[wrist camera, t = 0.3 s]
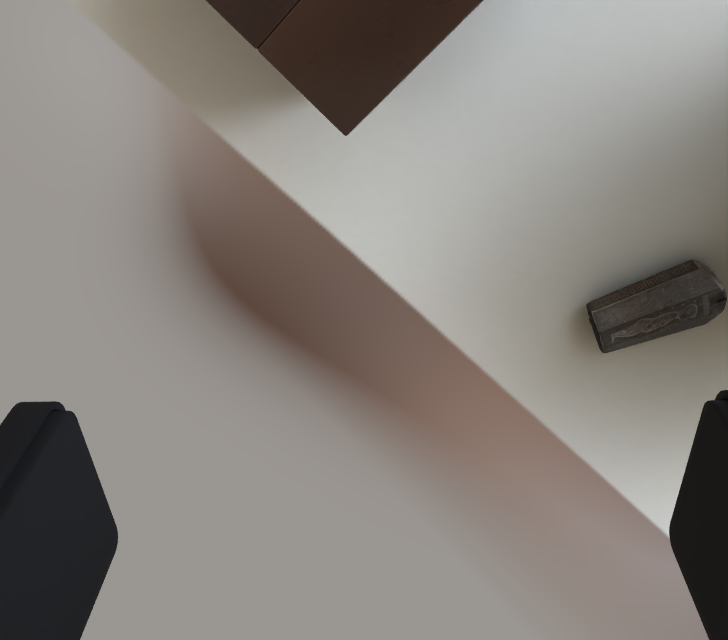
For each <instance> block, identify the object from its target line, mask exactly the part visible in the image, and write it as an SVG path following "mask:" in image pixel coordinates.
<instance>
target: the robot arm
mask: <svg viewBox="0 0 728 640" xmlns="http://www.w3.org/2000/svg"><path fill="white" fill-rule="evenodd" d="M669 534H670V542H671V546H672V549H673V552H674V555H675V557H676V560H677V562H678V564H679V567H680V569H681V572H682V574H683V576H684V579H685V582H686V584H687V586H688V589H689V591H690V594H691V596H692V599H693V601H694V604H695V606H696V608H697V611H698V613H699V616H700V618H701V621H702V623H703V625H704V628H705V630H706V633H707V635H708V638H709V640H728V390H723V391H720V392H719V393H718V395H717V396H716V399H715V400H710V401H707V402H706V403H705V404H704V407H703V410H702V413H701V417H700V420H699V424H698V427H697V431H696V434H695V438H694V441H693V445H692V448H691V452H690V455H689V459H688V463H687V466H686V470H685V473H684V477H683V480H682V484H681V487H680V491H679V494H678V498H677V501H676V505H675V508H674V512H673V515H672V519H671V522H670V529H669ZM117 543H118V532H117V527H116V524H115V521H114V518H113V516H112V513H111V510H110V508H109V505H108V502H107V499H106V497H105V494H104V491H103V489H102V486H101V483H100V480H99V478H98V475H97V472H96V469H95V467H94V464H93V461H92V458H91V456H90V453H89V450H88V448H87V445H86V442H85V439H84V437H83V434H82V431H81V429H80V426H79V423H78V420H77V418H76V416H75V414H74V413H73V412H72V411H66V410H65V408H64V406H63V405H62V404H61V403H60V402H20V403H18V404H16V405H15V406H14V407H13V408H12V409H11V411H10V412H9V414H8V415H7V417H6V418H5V419H4V421H3V422H2V423H1V425H0V640H80V638H81V636H82V633H83V631H84V628H85V626H86V623H87V621H88V619H89V616H90V614H91V611H92V609H93V606H94V604H95V601H96V599H97V596H98V594H99V591H100V589H101V586H102V584H103V582H104V579H105V577H106V574H107V571H108V569H109V567H110V564H111V561H112V559H113V557H114V554H115V551H116V548H117Z"/></svg>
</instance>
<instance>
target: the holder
mask: <svg viewBox="0 0 728 640" xmlns="http://www.w3.org/2000/svg"><path fill="white" fill-rule="evenodd" d="M206 1H207V2H208V3H209V4H210V5H211V6H212V7H213V8H214V9H215V10H216V11H217V12H218V13H219V14H220V15H221V16H222V17H223V18H225V19H226V20H227V21H228V22H229V23H230V24H231V25H232V26H233V27H234V28H235V29H236V30H237V31H238V32H239V33H240V34H241V35H242V36H243V37H244V38H245V39H246V40H247V41H248V42H249V43H250V44H251V45H252V46H253V47H254V48H256V49H257V48H258V51H259V52H260V53H261V54H262V55H263V56H264V57H265V58H266V59H267V60H268V61H269V62H270V63H271V64H272V65H273V66H274V67H275V68H276V69H277V70H278V71H279V72H280V73H281V74H282V75H283V76H284V77H285V78H286V79H287V80H288V81H289V82H290V83H291V84H292V85H293V86H294V87H295V88H296V89H297V90H299V91H300V92H301V93H302V94H303V95H304V96H305V97H306V98H307V99H308V100H309V101H310V102H311V103H312V104H313V105H314V106H315V107H316V108H317V109H318V110H319V111H320V112H321V113H322V114H323V115H324V116H325V117H326V118H327V119H328V120H329V121H330V122H331V123H332V124H333V125H334V126H335V127H336V128H337V129H338V130H339V131H341V132H342V133H343V134H344V135H345V136H347V135H348V134H349V133H350V132H351V131H352V130H353V129H354V128H355V127H356V126H357V125H358V124H359V123H360V122H361V121H362V120H363V119H364V118H365V117H366V116H367V115H368V114H369V113H370V112H371V111H372V110H373V109H374V108H375V107H376V106H377V105H378V104H379V103H380V102H381V101H382V100H383V99H384V98H386V97H387V96H388V95H389V94H390V93H391V92H392V91H393V90H394V89H395V88H396V87H397V86H398V85H399V84H400V83H401V82H402V81H403V80H404V79H405V78H406V77H407V76H408V75H409V74H410V73H411V72H412V71H413V70H414V69H415V68H416V67H417V66H418V65H419V64H420V63H421V62H422V61H423V60H424V59H425V58H426V57H427V56H428V55H429V54H430V53H431V52H432V51H433V50H434V49H435V48H436V47H437V46H438V45H439V44H440V43H441V42H442V41H443V40H444V39H445V38H446V37H447V36H448V35H449V34H450V33H451V32H452V31H453V30H454V29H455V28H456V27H457V26H458V25H459V24H460V23H461V22H462V21H463V20H464V19H465V18H466V17H467V16H468V15H469V14H470V13H471V12H472V11H473V10H474V9H475V8H476V7H477V6H478V5H479V4H480V3H481V2H482V1H483V0H206Z"/></svg>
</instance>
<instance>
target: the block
mask: <svg viewBox="0 0 728 640" xmlns="http://www.w3.org/2000/svg"><path fill="white" fill-rule="evenodd" d="M726 300H727V296H726V292H725V289H724V287H723V285H722V284H721V283H720V281H719V280H718V279H717V277H716V276H715V274H714V273H713V271H711V269H709V268H708V267H707V266H706V265H704V264H703V263H701V262H698V261H694V260H690V261H688V262H686V263H684V264H681V265H678V266H676V267H674V268H671V269H669V270H666V271H664V272H661V273H659V274H656V275H654V276H651V277H649V278H647V279H645V280H643V281H639V282H637V283H634V284H632V285H630V286H627V287H625V288H623V289H621V290H618V291H615V292H613V293H610V294H608V295H606V296H603V297H601V298H599V299H597V300H593V301H591V302H590V303H588V304H587V305H586V306H587V310H588V314H589V318H590V319H589V320H590V323H591V325H592V328H593V331H594V334H595V337H596V340H597V343H598V345H599V348H600V350H601V351H602V353H608V352H611V351H615V350H619V349H622V348H625V347H629V346H632V345H636V344H639V343H642V342H645V341H649V340H653V339H656V338H659V337H662V336H666V335H669V334H673V333H677V332H680V331H683V330H687V329H690V328H694V327H697V326H701V325H704V324H706V323H708V322H709V321H711V320H712V319H713V318H715V317H716V316H717V315H718V314H720V313H721V312H722V311H723V310H724V308H725V305H726Z"/></svg>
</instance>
